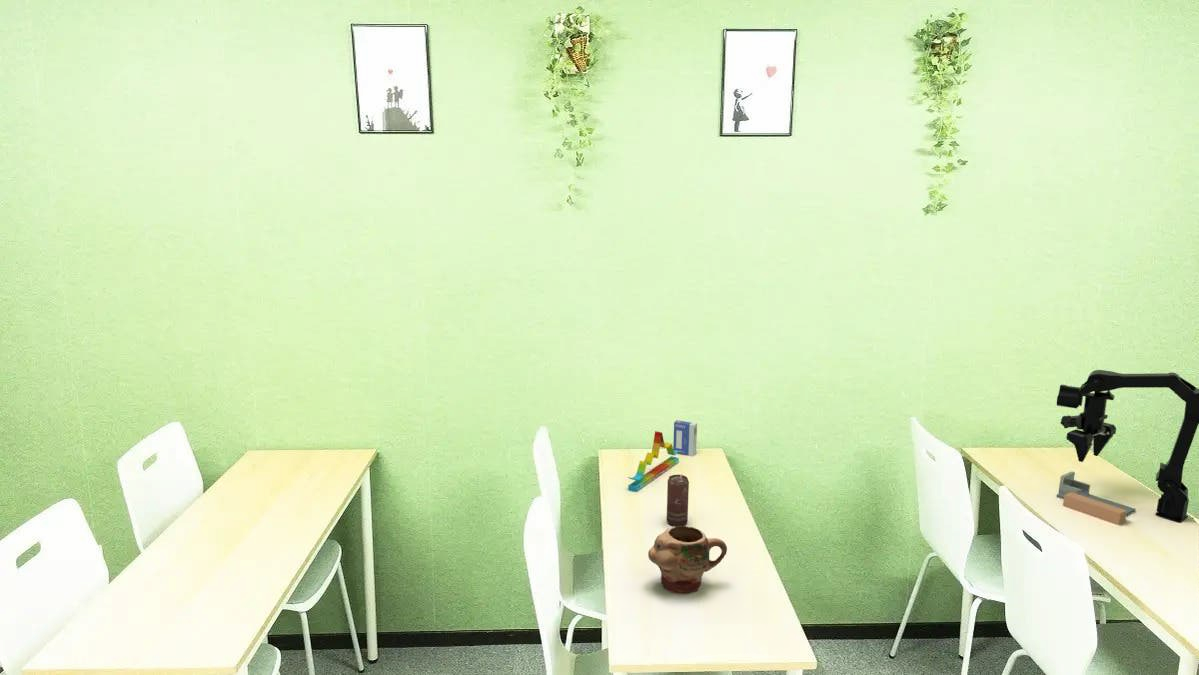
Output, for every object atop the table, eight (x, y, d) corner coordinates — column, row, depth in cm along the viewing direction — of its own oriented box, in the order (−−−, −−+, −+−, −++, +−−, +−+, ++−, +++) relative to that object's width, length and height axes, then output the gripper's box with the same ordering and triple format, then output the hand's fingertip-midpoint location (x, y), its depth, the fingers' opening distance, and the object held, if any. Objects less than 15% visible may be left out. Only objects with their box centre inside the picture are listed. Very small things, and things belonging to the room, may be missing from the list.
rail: (1124, 522, 241) (1126, 510, 240) (1118, 526, 238) (1120, 513, 238) (1069, 503, 254) (1071, 491, 253) (1062, 506, 251) (1064, 494, 250)
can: (689, 519, 241) (690, 474, 237) (685, 528, 235) (687, 483, 231) (668, 516, 242) (670, 472, 239) (664, 525, 236) (666, 480, 233)
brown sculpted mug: (715, 567, 212) (717, 518, 209) (733, 591, 201) (735, 540, 198) (641, 576, 208) (642, 526, 205) (656, 601, 196) (657, 549, 193)
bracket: (1088, 495, 257) (1091, 477, 256) (1078, 500, 253) (1080, 482, 252) (1069, 488, 262) (1071, 471, 261) (1058, 493, 258) (1060, 476, 257)
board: (1135, 511, 248) (1135, 508, 248) (1121, 518, 243) (1122, 516, 243) (1070, 490, 263) (1070, 488, 263) (1056, 496, 258) (1056, 494, 258)
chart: (636, 493, 259) (637, 448, 256) (628, 491, 261) (628, 446, 258) (679, 463, 284) (680, 422, 281) (671, 461, 286) (672, 420, 283)
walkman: (673, 453, 293) (674, 421, 291) (675, 450, 296) (676, 419, 293) (693, 456, 290) (694, 424, 287) (696, 454, 292) (697, 422, 290)
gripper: (1082, 399, 263) (1077, 445, 266) (1052, 409, 253) (1046, 457, 256) (1119, 408, 254) (1113, 455, 257) (1089, 418, 244) (1083, 467, 247)
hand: (1088, 458), depth 255 cm, fingers open, 9 cm apart
